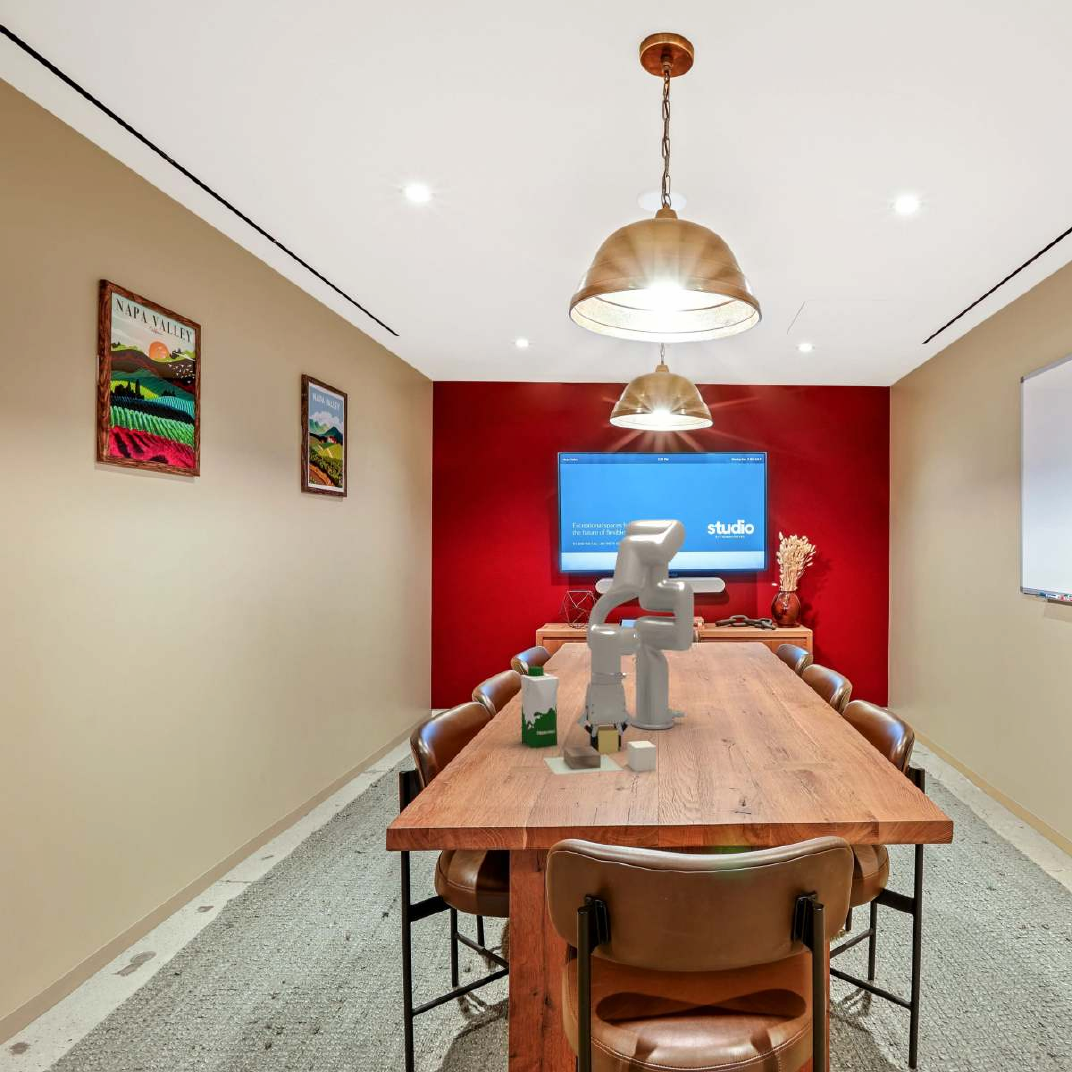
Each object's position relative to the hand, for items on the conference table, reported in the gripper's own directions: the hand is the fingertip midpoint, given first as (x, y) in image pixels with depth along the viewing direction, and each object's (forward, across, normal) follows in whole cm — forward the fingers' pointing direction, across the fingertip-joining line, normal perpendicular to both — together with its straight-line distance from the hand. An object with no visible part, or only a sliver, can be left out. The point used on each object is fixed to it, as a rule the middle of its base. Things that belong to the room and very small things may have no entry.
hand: (605, 749), depth 174 cm
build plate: (+1, +9, +10) cm, 13 cm away
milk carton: (+1, +15, -10) cm, 18 cm away
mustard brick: (+1, 0, 0) cm, 1 cm away
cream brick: (+1, -4, +14) cm, 15 cm away
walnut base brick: (0, +9, +10) cm, 13 cm away
